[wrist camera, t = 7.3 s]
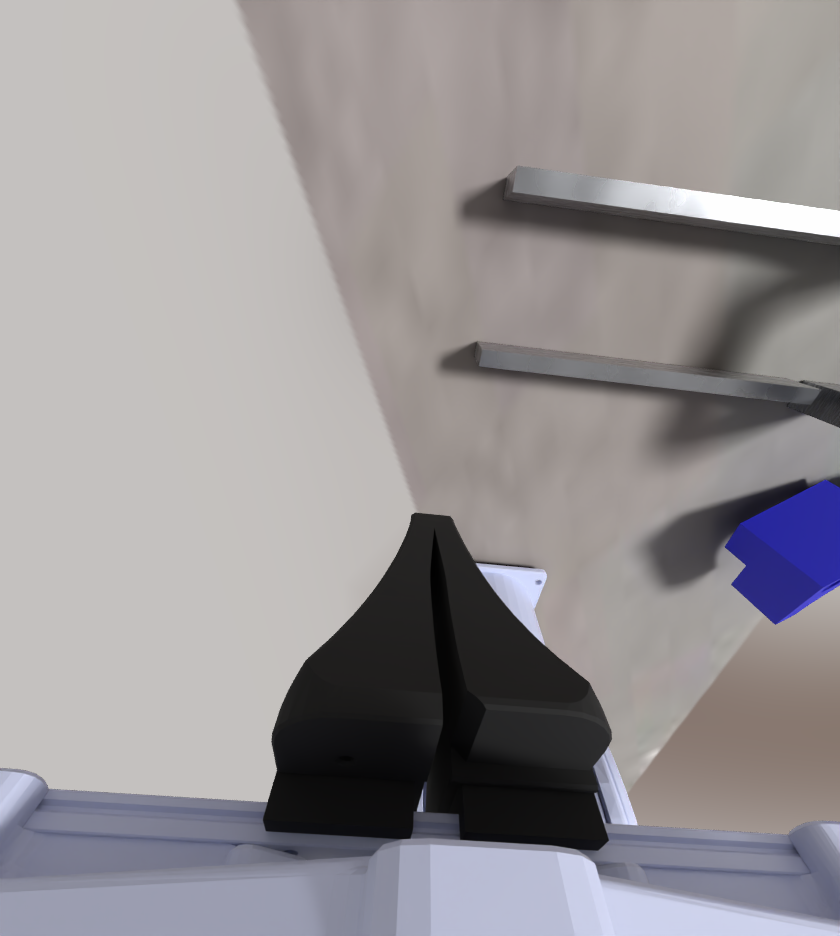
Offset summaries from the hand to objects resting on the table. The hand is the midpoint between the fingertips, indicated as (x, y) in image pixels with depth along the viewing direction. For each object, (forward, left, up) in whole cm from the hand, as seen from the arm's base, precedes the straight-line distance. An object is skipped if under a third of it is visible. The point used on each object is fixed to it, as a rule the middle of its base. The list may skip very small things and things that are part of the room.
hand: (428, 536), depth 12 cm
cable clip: (-1, -25, -7) cm, 26 cm away
